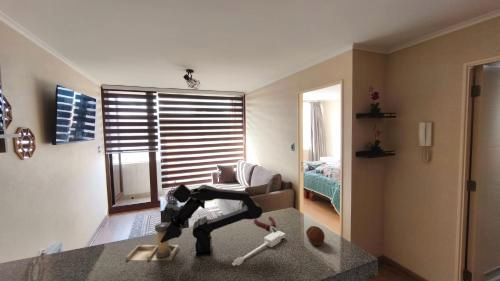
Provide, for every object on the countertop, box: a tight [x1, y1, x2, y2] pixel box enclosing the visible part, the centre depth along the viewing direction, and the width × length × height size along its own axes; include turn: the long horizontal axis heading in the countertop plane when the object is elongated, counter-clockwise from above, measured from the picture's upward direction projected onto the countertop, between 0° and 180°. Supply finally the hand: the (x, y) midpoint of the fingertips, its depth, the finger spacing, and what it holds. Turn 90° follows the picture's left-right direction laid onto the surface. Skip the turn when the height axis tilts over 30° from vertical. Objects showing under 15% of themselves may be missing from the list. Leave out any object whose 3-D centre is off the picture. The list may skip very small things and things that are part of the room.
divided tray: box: [125, 243, 180, 261], centre depth 96 cm, size 19×9×3 cm, turn 89°
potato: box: [305, 225, 326, 247], centre depth 105 cm, size 8×12×8 cm, turn 16°
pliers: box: [253, 216, 278, 233], centre depth 122 cm, size 12×20×3 cm, turn 19°
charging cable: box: [230, 230, 286, 267], centre depth 99 cm, size 5×32×3 cm, turn 135°
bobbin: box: [154, 222, 171, 259], centre depth 95 cm, size 6×6×13 cm
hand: (163, 236), depth 95 cm, fingers open, 9 cm apart
